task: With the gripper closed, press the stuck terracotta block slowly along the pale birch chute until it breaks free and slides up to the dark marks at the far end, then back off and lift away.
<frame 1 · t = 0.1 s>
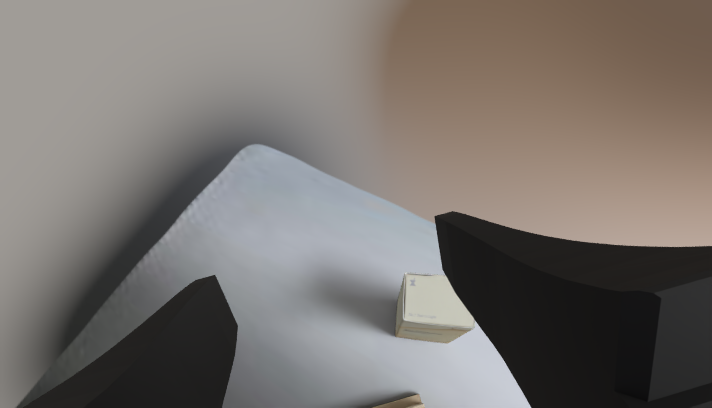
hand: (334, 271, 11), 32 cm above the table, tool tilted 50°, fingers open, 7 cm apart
skincare box: (422, 320, 41), on the table
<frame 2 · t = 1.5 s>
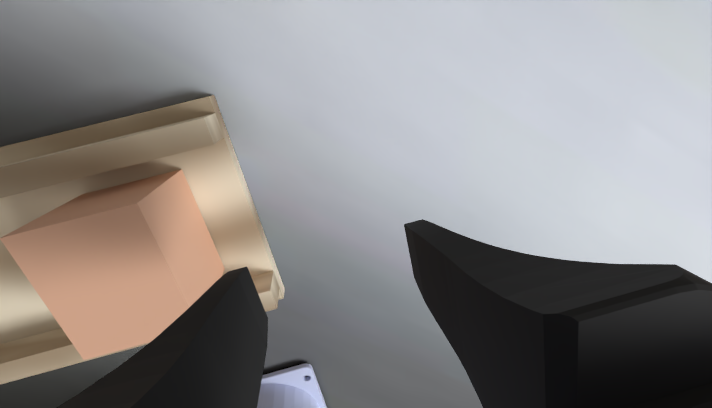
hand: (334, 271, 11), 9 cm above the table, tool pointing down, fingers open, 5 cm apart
jammed block: (136, 256, 16), point 4 cm above the table, slide at 0.0 cm
chute: (40, 258, 19), on the table
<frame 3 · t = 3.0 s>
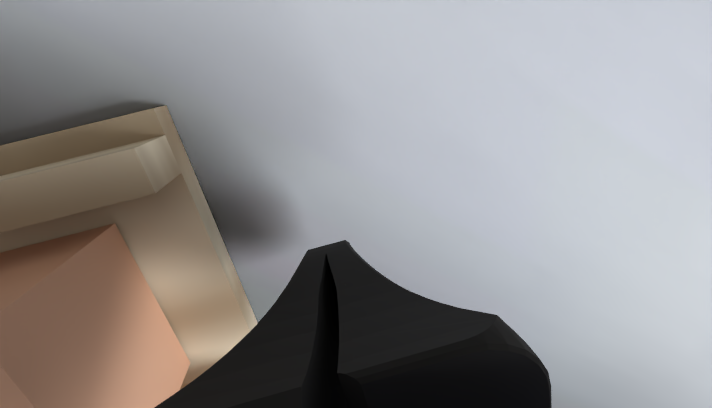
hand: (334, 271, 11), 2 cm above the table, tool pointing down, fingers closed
jammed block: (30, 377, 10), point 4 cm above the table, slide at 0.0 cm
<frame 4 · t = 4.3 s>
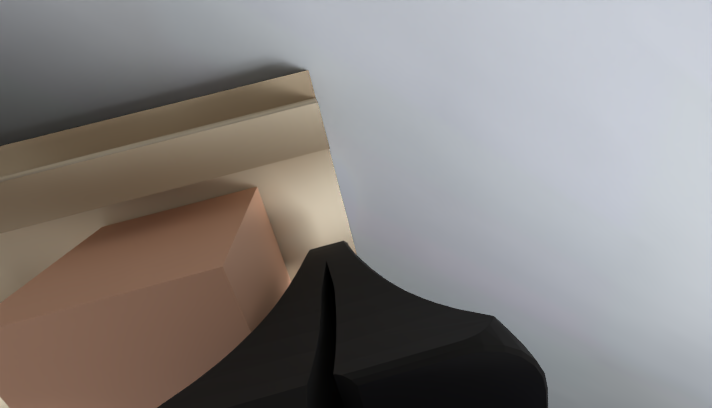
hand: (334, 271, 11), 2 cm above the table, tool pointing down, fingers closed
jammed block: (194, 333, 10), point 4 cm above the table, slide at 0.0 cm, touching gripper
chute: (37, 317, 13), on the table
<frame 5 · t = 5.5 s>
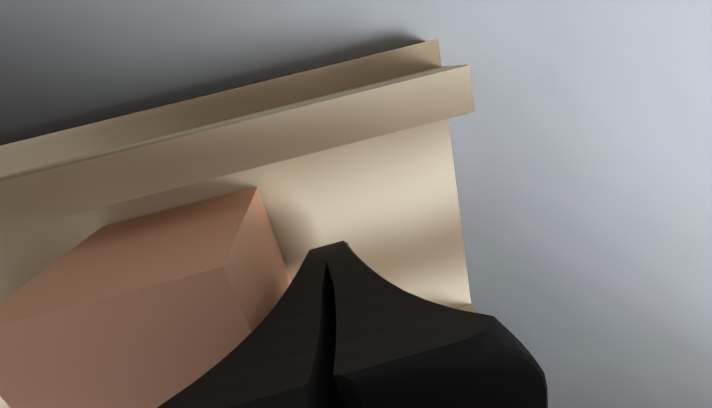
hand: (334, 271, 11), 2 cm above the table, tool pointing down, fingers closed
jammed block: (194, 332, 10), point 4 cm above the table, slide at 4.0 cm, touching gripper
chute: (144, 288, 13), on the table
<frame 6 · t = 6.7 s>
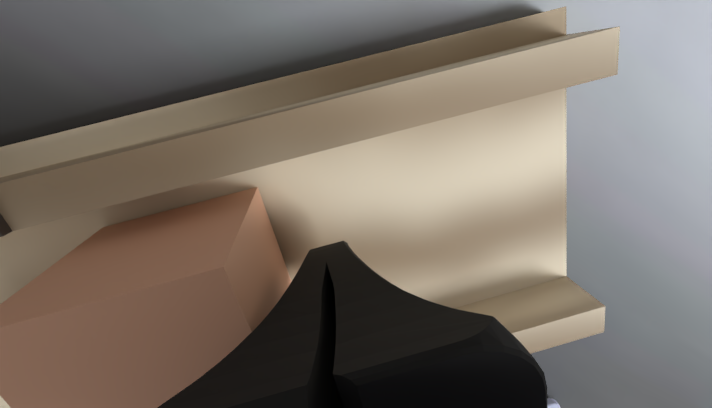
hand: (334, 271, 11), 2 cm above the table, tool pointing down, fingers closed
jammed block: (194, 333, 10), point 4 cm above the table, slide at 8.2 cm, touching gripper
chute: (252, 259, 13), on the table
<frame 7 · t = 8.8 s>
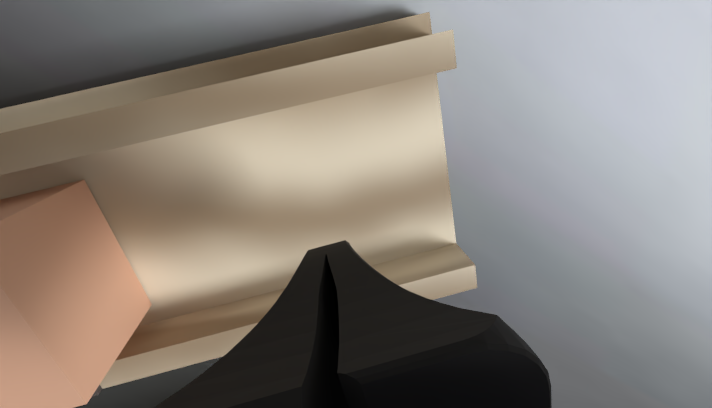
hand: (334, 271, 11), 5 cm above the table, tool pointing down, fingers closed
jammed block: (11, 299, 12), point 4 cm above the table, slide at 11.7 cm
chute: (181, 223, 15), on the table
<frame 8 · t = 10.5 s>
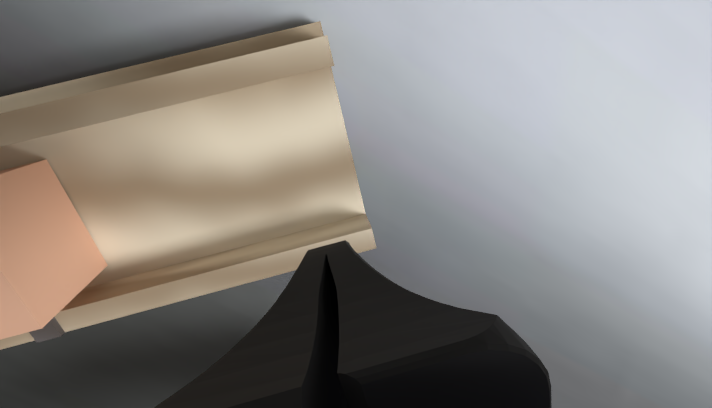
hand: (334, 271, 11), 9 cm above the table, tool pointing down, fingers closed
chute: (131, 197, 19), on the table
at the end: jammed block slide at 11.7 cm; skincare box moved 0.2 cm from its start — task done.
